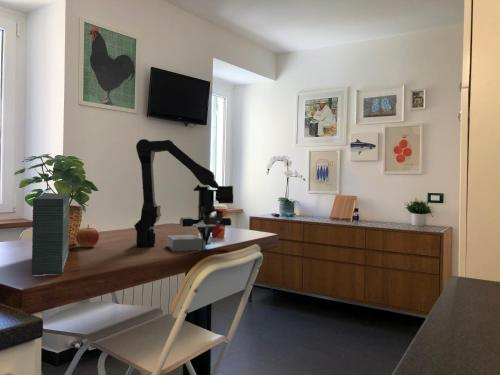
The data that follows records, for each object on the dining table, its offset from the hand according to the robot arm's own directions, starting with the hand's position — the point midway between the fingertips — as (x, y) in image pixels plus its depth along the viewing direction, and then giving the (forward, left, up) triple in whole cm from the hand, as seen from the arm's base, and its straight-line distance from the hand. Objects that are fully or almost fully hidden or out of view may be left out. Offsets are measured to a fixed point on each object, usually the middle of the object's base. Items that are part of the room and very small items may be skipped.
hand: (205, 244), depth 153 cm
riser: (+3, +11, -1) cm, 11 cm away
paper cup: (+13, +24, -1) cm, 27 cm away
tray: (-7, 0, -1) cm, 7 cm away
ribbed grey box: (-51, -17, -1) cm, 54 cm away
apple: (-41, +10, -1) cm, 43 cm away
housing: (-8, 0, -1) cm, 8 cm away
